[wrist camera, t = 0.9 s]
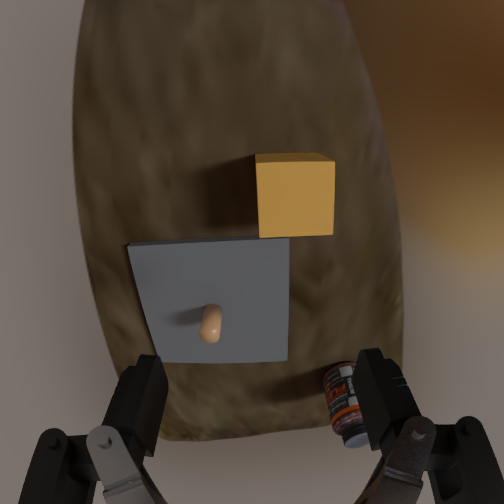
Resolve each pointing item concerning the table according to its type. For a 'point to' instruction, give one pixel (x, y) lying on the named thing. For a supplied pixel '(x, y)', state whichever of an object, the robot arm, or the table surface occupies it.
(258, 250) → the thin gray plate
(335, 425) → the supplement bottle
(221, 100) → the table surface
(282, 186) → the mustard foam cube
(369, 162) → the table surface
